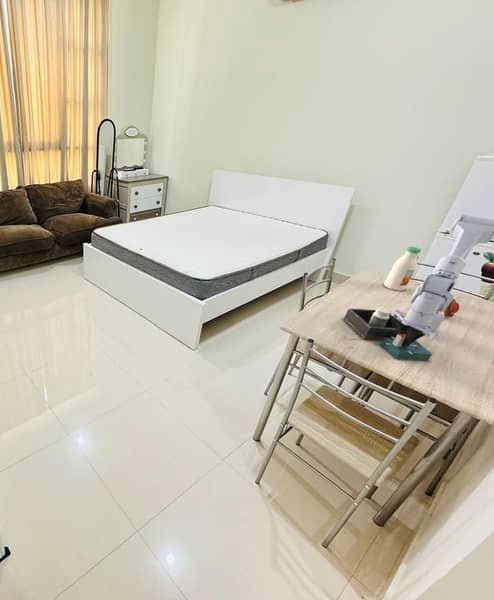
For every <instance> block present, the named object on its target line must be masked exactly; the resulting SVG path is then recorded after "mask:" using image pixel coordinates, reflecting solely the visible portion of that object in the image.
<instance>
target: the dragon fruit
mask: <svg viewBox="0 0 494 600" xmlns="http://www.w3.org/2000/svg"><path fill="white" fill-rule="evenodd" d="M459 311H460V304H459V303H458V302H457V300H456V299H454V298H453V299H452V301H451V302H450V304H449V305H448V307H447V308H446V310H445V311H444V315H445V316H444V317H446V318H452V317H453V316H454V315H455V314H456V313H458V312H459Z"/></svg>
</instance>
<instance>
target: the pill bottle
mask: <svg viewBox="0 0 494 600" xmlns="http://www.w3.org/2000/svg"><path fill="white" fill-rule="evenodd" d="M375 310H376V312H374V313H373V315H372V317H371V319H370V321H369V323H368V324H369V325H370V326H371V327H381V328H384V327H385V325H386V323H387V321H388V319H389V315H390V313H392V311H390V309H388V308H385V307H381V306H380V307H377V308H376V309H375Z"/></svg>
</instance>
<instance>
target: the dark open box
mask: <svg viewBox="0 0 494 600" xmlns="http://www.w3.org/2000/svg"><path fill="white" fill-rule="evenodd" d="M376 310H377V309H366V308H351V307H350V308H348V309H347V311H346V313H345V316H344V317H343V321H344V322H345V323H346V324H347V325H348V326H349V327H350V328H351V329H353V331H354V332H355V333H357V334H358V335H359V336H360V337H361V339H363V340H364V341H365V340H366V341H379V342H382V341H383V339H384V338H392V337H391V336H393V337H394V338H396V336H397V326H396V323H397V322H400V321H401V320H400V319H399V318H397V317H395V316H392V315H391V314H392V312H391V313H390V315H389V319H388V321H387V323H386V325H385V327H384V328H381V327H371V326H370V325H369V324H368V323H369V321H370V319H371V317H372V315H373V313H374V312H376Z"/></svg>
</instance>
